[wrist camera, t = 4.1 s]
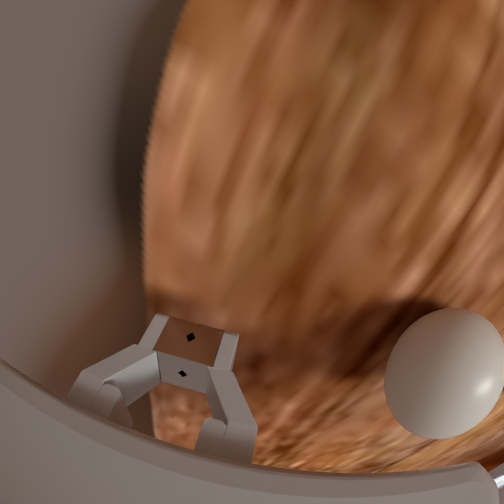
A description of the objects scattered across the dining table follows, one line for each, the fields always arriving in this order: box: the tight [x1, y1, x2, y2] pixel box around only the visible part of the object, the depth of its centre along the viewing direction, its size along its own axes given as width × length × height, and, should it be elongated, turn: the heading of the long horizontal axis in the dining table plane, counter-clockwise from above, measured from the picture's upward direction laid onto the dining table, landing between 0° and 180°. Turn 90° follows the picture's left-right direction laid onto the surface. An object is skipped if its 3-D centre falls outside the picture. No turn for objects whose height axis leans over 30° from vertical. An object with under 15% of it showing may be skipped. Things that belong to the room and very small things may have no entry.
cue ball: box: [384, 308, 504, 439], centre depth 9 cm, size 6×6×6 cm
